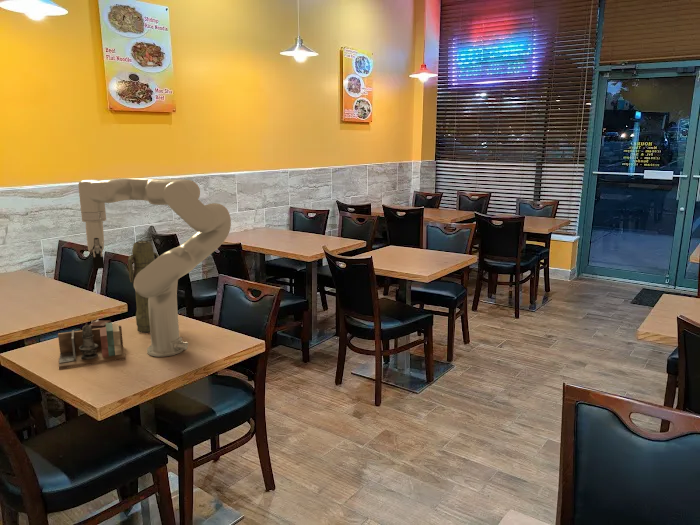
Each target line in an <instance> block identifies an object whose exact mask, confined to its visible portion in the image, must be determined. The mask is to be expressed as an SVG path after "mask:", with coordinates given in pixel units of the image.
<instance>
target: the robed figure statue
mask: <svg viewBox="0 0 700 525" xmlns="http://www.w3.org/2000/svg"><path fill="white" fill-rule="evenodd" d="M131 253H132V254H131V255H129V256H128V258H127V264H128V277H129V282H130V284H131V283H132V284H133V286H132V287H133V289H134V290H135V288H134V279H135V277H136V275H137V274H138V273H139V272H140V271H141V270H142V269H144V268H145V267H146V266H148V265H149V264H150V263H151V262H153V261H154V260H155V259H156V258H158V257H159V256H160V255H159V254H158V253H157V252H155V251H154V247H153V245H152V243H151V242H150V241H149V240H138V241H136V242H133V245H132V252H131ZM135 302H136V303H135V304H136V312H135V323H136V327H137V328H136V329H137V332H138V333H142V334H147V333H148V334H149V333H150V322H149V308H148V298H146V297H142V296H140V295H139V294H138V293H137V292H136V291H135Z"/></svg>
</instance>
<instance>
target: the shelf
mask: <svg viewBox="0 0 700 525" xmlns="http://www.w3.org/2000/svg"><path fill="white" fill-rule="evenodd" d="M74 334H75V343H76V361H74V362H68V363H61V364H59V363H58V370H63V369H70V368H78V367H84V366H90V365H96V364H97V365H98V364H103V363H110V362H117V361H123V360H126V353H125V349H124V348H125V347H124V342H123V341H124V339H123V330H122V324H119V323H118V322H115V323H113V322H111V323H106V327H103V328H96V329H92V334H93V335H94V336H93V342H94V344H98V347H97V351H96V352H95V353H96V354H98V357H96V358H93V359H88V360H85V359H81V356H83V355H84V354H82V353H81V351H80V349H79V347H80V346H82V345H83V338H82V336H83V332H82V330H74ZM57 337H58V346H59V352H60V353H66V352H73V348H72V331H66V332H58V333H57ZM60 353H59V354H60Z"/></svg>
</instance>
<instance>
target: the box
mask: <svg viewBox="0 0 700 525" xmlns="http://www.w3.org/2000/svg"><path fill="white" fill-rule="evenodd" d="M106 323H112V320H94V321H93V322H91V323H90V324H88V325H89V326H91V328H92V329H96V328H103V327H106Z"/></svg>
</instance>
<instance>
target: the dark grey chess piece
mask: <svg viewBox="0 0 700 525" xmlns="http://www.w3.org/2000/svg"><path fill="white" fill-rule="evenodd" d="M89 325H90V324H88V323H87V322H86V323H85V325H83V326H82V332H83V336H82V338H83V345H82V346H80V347H79V349H80V351H81V353H82V354H84V355H83V356H81V359H85V360H88V359H93V358H96V357H98V354H96V353H95V352H96V351H97V347H98V344H94V342H93V336H94V335H93V334H92V328H91V326H89Z"/></svg>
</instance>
